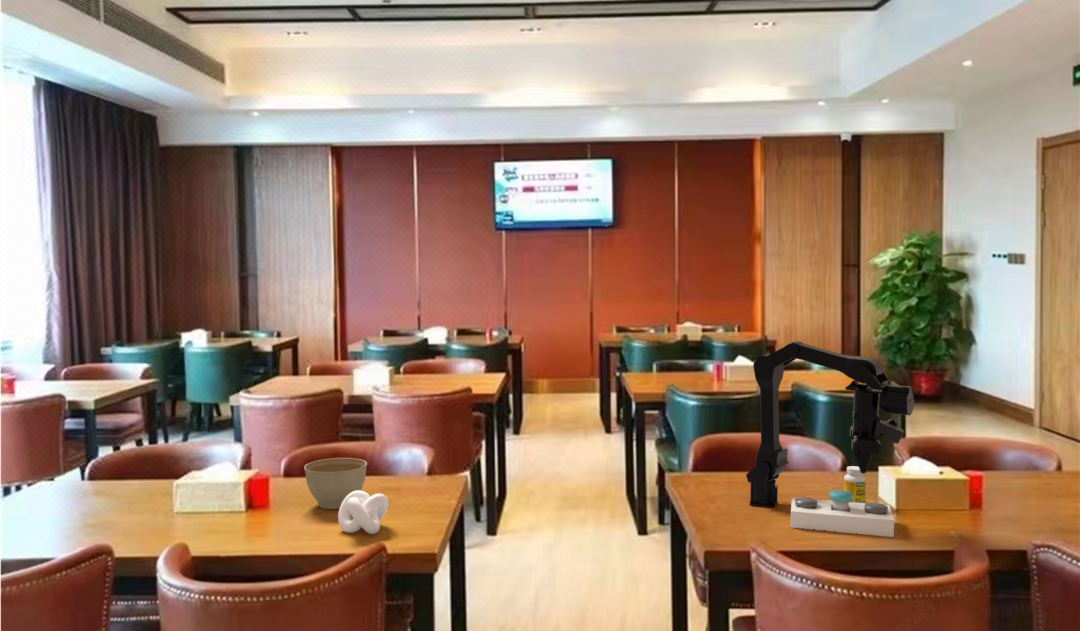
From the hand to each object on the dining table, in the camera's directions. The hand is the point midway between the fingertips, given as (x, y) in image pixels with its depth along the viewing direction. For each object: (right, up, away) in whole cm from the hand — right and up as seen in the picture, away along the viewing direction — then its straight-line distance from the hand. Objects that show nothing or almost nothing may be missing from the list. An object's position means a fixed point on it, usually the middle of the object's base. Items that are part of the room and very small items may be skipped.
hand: (863, 472), depth 203 cm
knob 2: (+2, -11, -2) cm, 12 cm away
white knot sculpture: (-121, -14, -3) cm, 122 cm away
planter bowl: (-133, -12, +19) cm, 135 cm away
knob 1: (-13, -11, +3) cm, 17 cm away
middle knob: (-6, -9, 0) cm, 10 cm away
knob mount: (-6, -13, 0) cm, 14 cm away
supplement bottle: (+4, -12, +17) cm, 21 cm away
